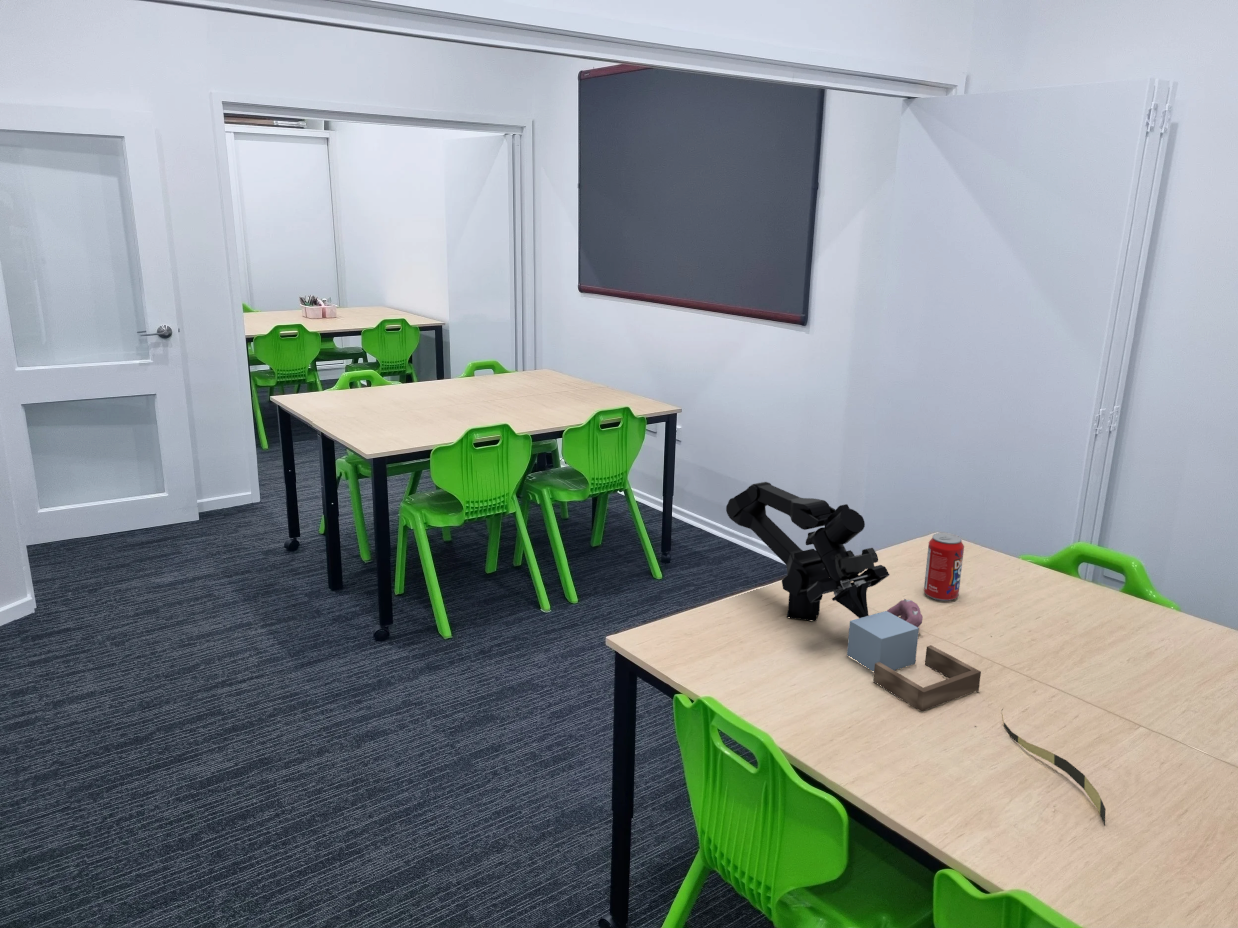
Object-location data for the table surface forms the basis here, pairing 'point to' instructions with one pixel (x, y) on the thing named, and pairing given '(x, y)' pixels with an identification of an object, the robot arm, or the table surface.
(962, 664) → the walnut bay
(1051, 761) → the tape
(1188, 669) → the table surface
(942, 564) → the soda can
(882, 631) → the slate block
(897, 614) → the video game controller
